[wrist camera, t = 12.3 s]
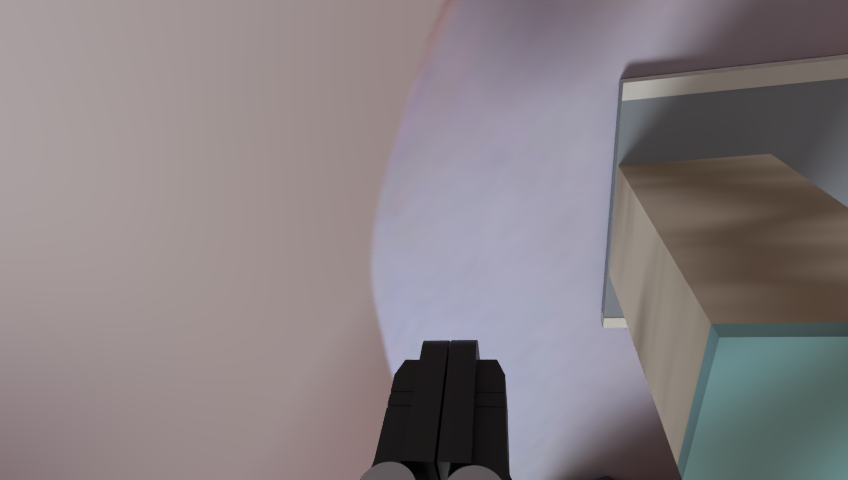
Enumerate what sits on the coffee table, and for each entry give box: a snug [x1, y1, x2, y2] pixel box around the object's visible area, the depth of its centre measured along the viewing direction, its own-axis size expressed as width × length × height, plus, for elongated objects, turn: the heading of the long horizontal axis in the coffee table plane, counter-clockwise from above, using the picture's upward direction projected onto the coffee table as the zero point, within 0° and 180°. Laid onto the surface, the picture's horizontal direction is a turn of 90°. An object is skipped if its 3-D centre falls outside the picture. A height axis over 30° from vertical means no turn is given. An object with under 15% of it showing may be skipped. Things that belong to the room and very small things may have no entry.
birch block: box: [609, 154, 848, 480], centre depth 13 cm, size 5×5×9 cm
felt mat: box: [601, 54, 848, 328], centre depth 17 cm, size 14×11×1 cm
